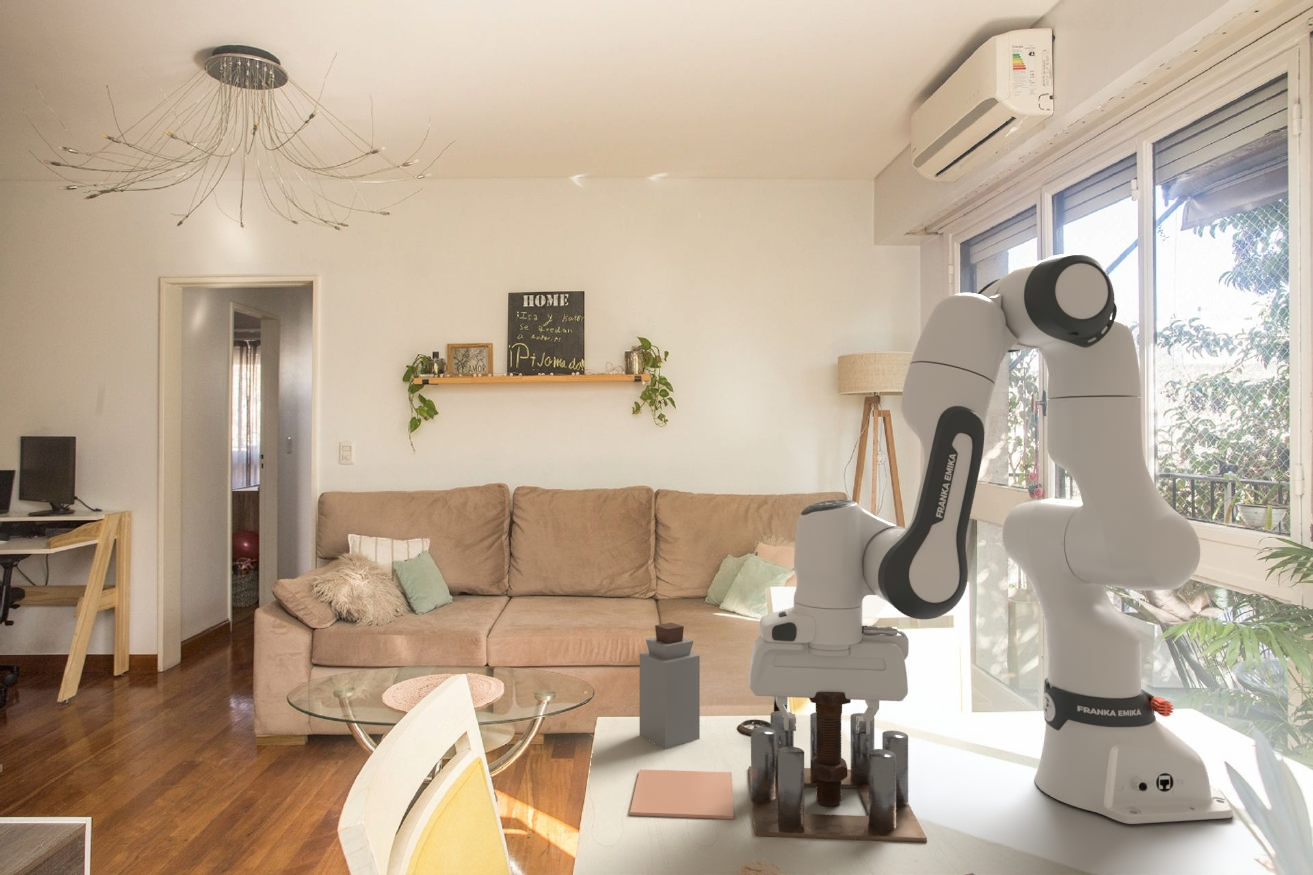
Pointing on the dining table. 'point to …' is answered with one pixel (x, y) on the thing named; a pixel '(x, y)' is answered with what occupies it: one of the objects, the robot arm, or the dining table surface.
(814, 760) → the bolt
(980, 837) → the dining table surface
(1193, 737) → the dining table surface
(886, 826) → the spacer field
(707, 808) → the pad
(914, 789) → the dining table surface
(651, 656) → the perfume bottle
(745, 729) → the compass
